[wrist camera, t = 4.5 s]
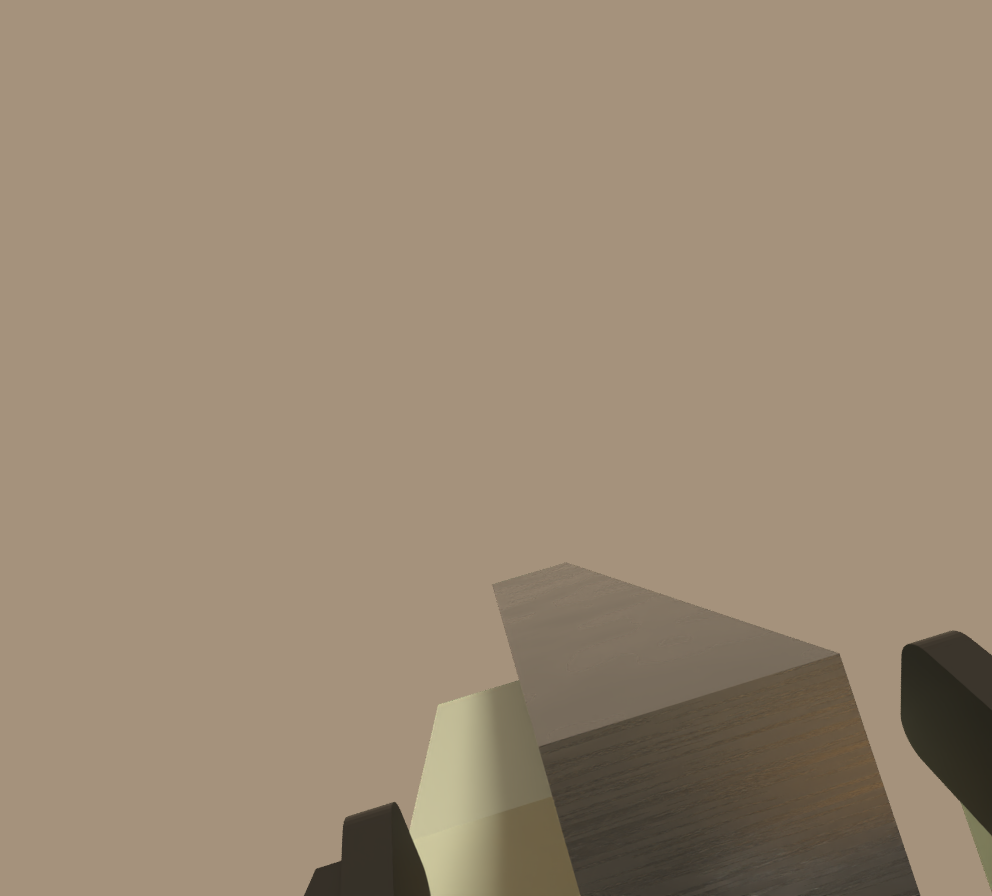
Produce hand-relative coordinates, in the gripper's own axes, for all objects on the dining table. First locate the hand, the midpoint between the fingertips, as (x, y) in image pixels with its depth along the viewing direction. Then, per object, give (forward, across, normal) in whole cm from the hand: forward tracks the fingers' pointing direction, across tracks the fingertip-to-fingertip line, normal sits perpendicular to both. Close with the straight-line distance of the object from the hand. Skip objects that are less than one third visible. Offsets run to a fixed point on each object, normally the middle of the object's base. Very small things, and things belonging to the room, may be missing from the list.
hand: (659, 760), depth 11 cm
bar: (+7, 0, +6) cm, 9 cm away
